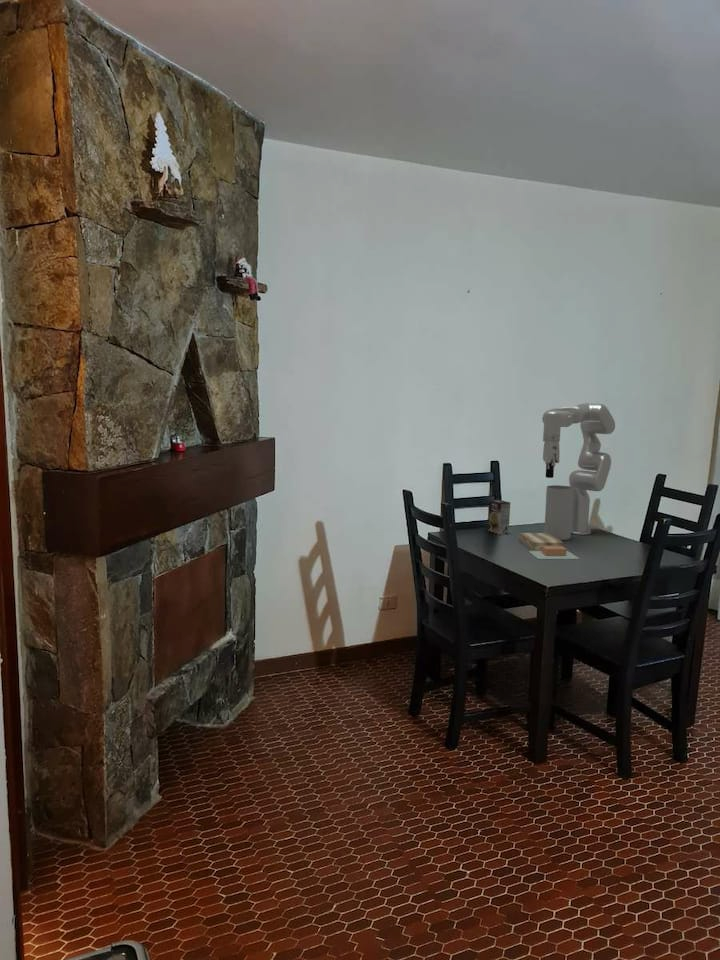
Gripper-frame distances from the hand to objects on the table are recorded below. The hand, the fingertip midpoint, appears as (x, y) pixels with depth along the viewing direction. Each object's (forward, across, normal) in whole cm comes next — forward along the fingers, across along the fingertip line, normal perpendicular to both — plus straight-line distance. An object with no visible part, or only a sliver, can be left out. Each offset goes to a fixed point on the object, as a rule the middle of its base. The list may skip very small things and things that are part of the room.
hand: (549, 477), depth 326 cm
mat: (+31, -24, +5) cm, 40 cm away
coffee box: (+31, +22, +17) cm, 42 cm away
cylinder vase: (+31, +10, -9) cm, 34 cm away
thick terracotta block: (+29, -24, +4) cm, 38 cm away
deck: (+31, -7, +5) cm, 32 cm away
